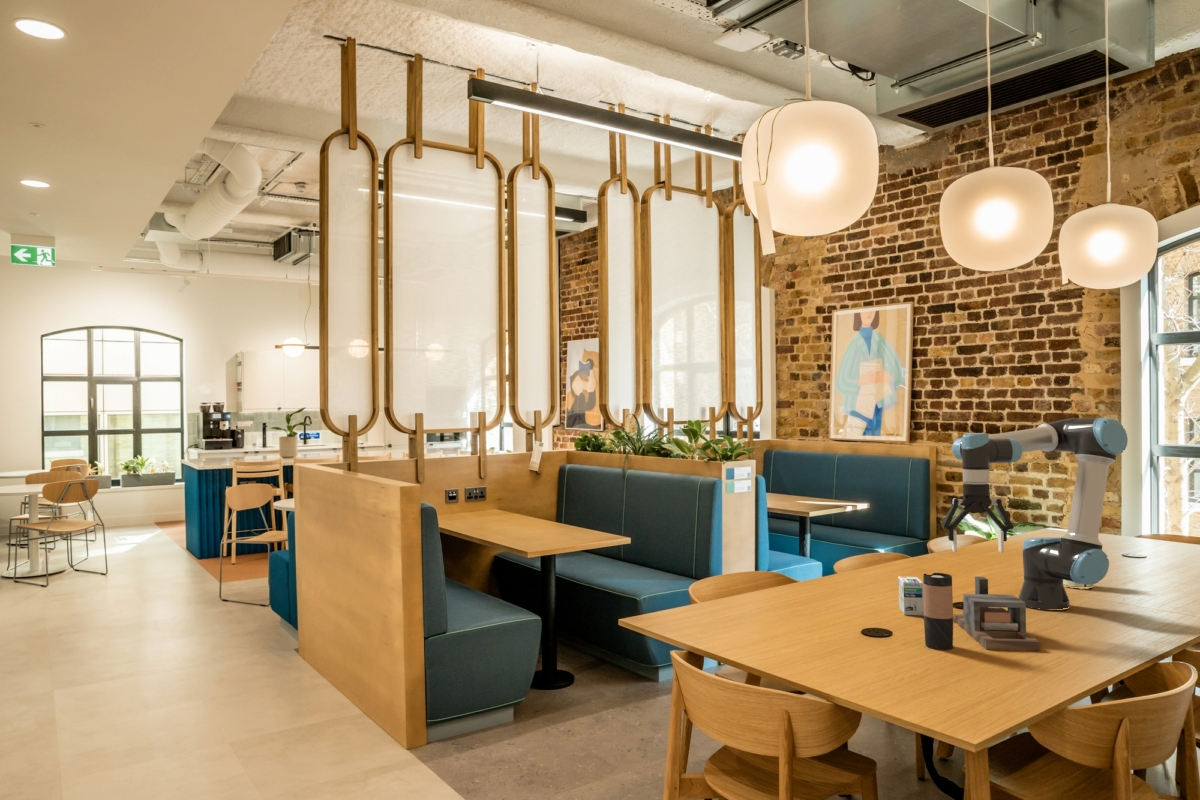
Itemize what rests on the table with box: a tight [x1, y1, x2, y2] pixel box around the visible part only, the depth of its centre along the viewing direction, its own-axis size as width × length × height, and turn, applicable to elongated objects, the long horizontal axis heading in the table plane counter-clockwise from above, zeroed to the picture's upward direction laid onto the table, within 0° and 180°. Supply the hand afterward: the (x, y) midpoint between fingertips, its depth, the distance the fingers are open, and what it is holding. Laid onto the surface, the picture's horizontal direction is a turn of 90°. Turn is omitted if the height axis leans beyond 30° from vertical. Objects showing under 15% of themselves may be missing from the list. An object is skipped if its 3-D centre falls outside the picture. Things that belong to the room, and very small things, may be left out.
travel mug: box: [922, 572, 954, 651], centre depth 222 cm, size 8×8×20 cm
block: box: [980, 607, 1010, 623], centre depth 232 cm, size 7×6×5 cm
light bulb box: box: [897, 575, 924, 617], centre depth 261 cm, size 11×7×11 cm, turn 168°
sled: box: [962, 576, 1018, 631], centre depth 236 cm, size 17×10×12 cm, turn 172°
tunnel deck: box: [953, 593, 1041, 651], centre depth 232 cm, size 30×14×11 cm, turn 172°
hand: (977, 551), depth 243 cm, fingers open, 13 cm apart
